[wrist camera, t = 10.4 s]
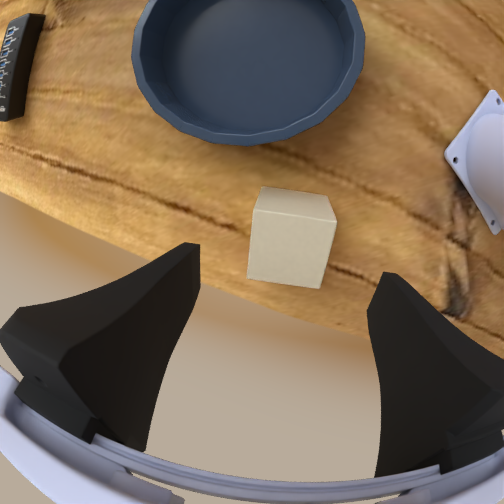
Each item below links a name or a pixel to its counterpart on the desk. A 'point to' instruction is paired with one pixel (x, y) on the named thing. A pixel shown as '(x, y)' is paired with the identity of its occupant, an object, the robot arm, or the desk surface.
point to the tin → (247, 65)
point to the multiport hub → (17, 63)
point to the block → (290, 237)
